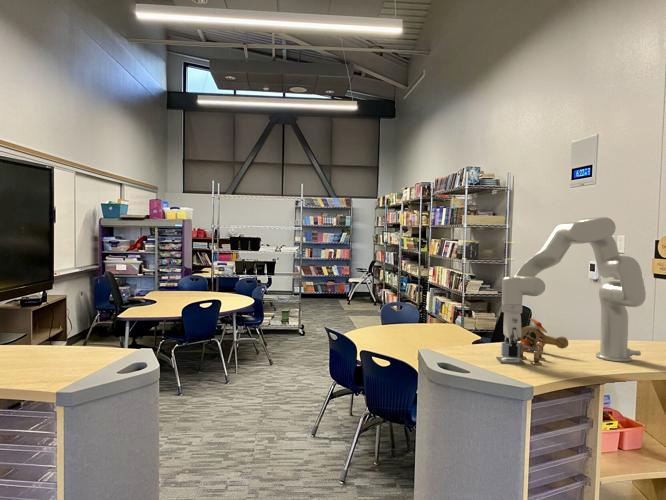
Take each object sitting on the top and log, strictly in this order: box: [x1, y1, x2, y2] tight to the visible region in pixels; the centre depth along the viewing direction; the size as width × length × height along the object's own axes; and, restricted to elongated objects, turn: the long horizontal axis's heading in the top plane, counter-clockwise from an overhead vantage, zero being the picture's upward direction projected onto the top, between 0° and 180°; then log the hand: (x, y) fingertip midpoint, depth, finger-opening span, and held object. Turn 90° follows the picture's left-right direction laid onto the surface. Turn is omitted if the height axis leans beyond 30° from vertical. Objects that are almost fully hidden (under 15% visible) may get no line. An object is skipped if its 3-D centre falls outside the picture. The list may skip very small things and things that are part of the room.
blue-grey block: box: [501, 341, 520, 358], centre depth 182 cm, size 6×6×5 cm
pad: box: [495, 356, 527, 366], centre depth 182 cm, size 9×9×1 cm
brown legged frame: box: [517, 340, 545, 366], centre depth 184 cm, size 11×13×7 cm
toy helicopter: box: [519, 318, 569, 353], centre depth 200 cm, size 8×21×14 cm, turn 38°
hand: (510, 354), depth 182 cm, fingers closed on blue-grey block, 6 cm apart
